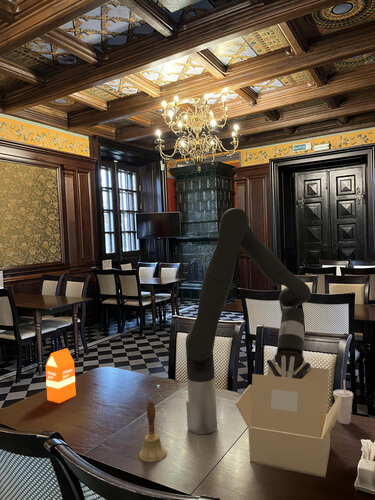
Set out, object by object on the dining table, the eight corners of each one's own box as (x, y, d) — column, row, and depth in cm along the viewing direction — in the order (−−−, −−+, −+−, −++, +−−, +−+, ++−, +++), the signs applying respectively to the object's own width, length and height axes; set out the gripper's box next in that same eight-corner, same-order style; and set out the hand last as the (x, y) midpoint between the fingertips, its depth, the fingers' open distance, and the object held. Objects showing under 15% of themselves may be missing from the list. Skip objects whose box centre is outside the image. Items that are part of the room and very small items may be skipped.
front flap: (250, 426, 106) (250, 426, 106) (252, 374, 110) (252, 374, 110) (320, 437, 99) (319, 438, 98) (319, 380, 102) (319, 380, 102)
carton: (237, 459, 109) (233, 389, 108) (260, 419, 132) (257, 362, 132) (340, 480, 97) (337, 402, 97) (345, 432, 121) (342, 369, 120)
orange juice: (47, 399, 159) (44, 352, 159) (63, 392, 167) (61, 347, 167) (59, 403, 155) (57, 354, 155) (76, 395, 163) (73, 348, 163)
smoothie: (356, 426, 124) (354, 383, 124) (335, 425, 126) (334, 383, 125) (352, 417, 131) (350, 377, 130) (332, 416, 132) (330, 376, 132)
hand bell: (139, 448, 117) (136, 397, 117) (166, 446, 118) (163, 395, 118) (138, 464, 109) (135, 408, 109) (167, 461, 110) (164, 406, 109)
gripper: (267, 331, 117) (259, 386, 106) (312, 333, 111) (309, 391, 100) (271, 344, 122) (265, 397, 111) (314, 346, 116) (312, 402, 105)
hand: (286, 394), depth 106 cm, fingers closed
